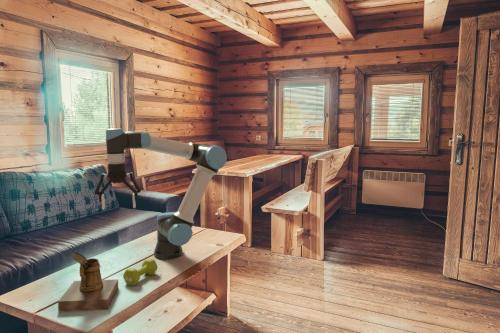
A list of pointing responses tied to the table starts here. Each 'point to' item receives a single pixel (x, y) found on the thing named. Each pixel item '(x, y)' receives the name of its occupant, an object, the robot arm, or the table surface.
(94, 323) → the table surface
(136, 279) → the dumbbell
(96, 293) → the walnut stand
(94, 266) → the wooden mug
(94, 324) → the table surface
